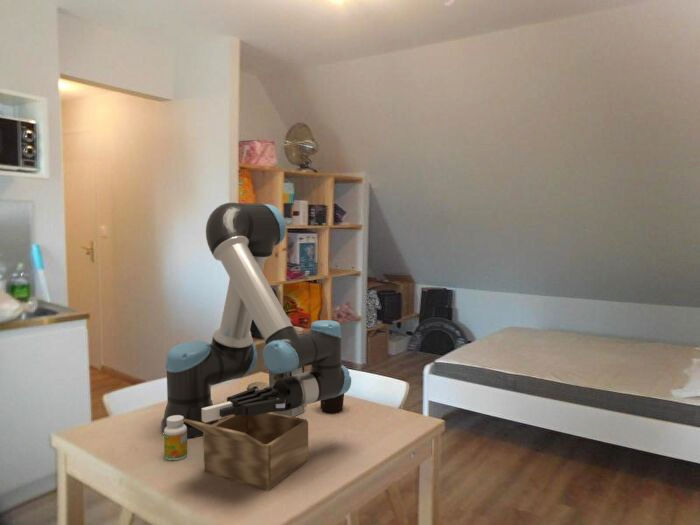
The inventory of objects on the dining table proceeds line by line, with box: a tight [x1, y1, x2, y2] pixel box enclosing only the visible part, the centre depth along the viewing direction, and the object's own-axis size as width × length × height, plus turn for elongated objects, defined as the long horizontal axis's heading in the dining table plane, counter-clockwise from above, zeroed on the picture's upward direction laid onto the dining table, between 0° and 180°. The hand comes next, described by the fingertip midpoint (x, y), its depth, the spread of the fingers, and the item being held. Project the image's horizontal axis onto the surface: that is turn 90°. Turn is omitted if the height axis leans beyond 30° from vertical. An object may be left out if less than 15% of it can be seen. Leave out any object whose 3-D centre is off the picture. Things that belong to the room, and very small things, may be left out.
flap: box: [182, 418, 265, 447], centre depth 114 cm, size 17×8×1 cm
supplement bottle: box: [163, 415, 188, 461], centre depth 130 cm, size 5×5×10 cm
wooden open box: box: [202, 412, 309, 492], centre depth 125 cm, size 19×17×10 cm
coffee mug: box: [320, 393, 345, 415], centre depth 164 cm, size 12×9×10 cm
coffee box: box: [268, 367, 305, 417], centre depth 160 cm, size 9×6×16 cm
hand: (203, 415), depth 111 cm, fingers closed
